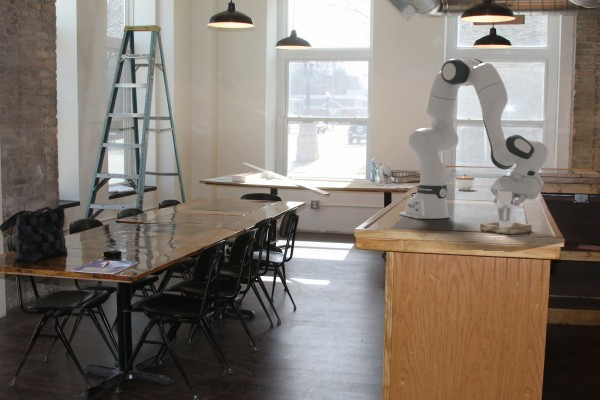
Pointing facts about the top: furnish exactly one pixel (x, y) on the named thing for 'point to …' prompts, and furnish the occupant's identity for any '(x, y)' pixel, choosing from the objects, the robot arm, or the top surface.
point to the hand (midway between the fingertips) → (505, 203)
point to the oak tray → (506, 228)
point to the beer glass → (505, 207)
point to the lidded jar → (464, 182)
